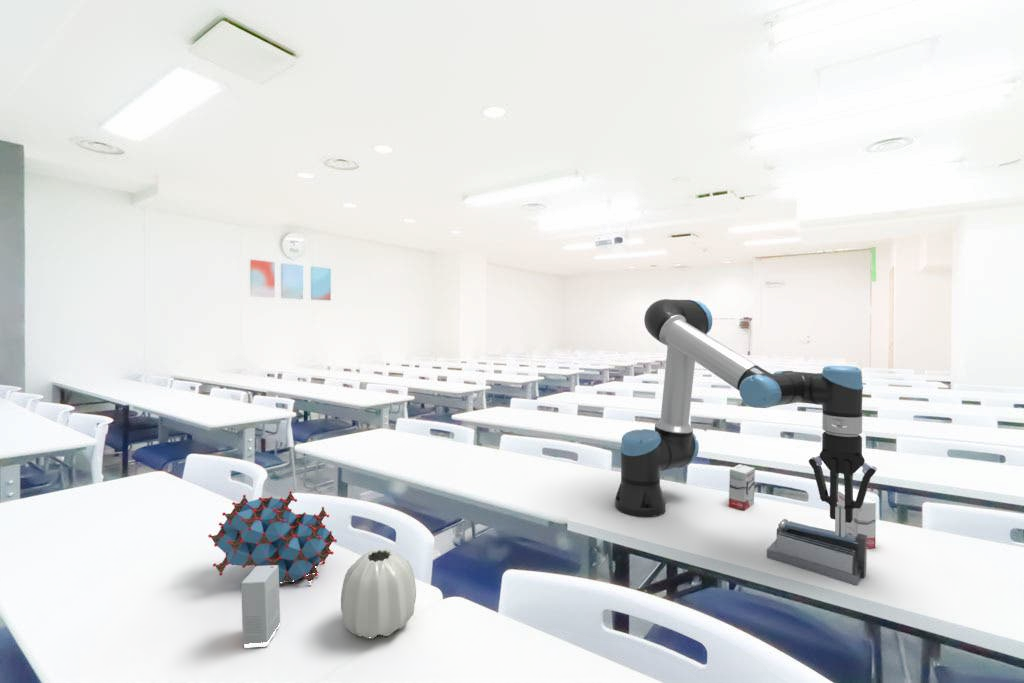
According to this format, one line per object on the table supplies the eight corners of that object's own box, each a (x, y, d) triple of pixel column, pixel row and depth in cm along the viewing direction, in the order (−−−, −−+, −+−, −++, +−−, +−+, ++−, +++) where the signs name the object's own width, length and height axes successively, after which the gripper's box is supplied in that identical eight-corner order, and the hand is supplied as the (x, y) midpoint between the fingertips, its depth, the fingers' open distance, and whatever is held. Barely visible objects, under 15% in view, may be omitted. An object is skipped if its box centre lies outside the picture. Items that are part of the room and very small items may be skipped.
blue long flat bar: (778, 528, 117) (778, 522, 117) (782, 523, 120) (782, 518, 120) (853, 544, 106) (852, 538, 106) (855, 539, 109) (855, 533, 109)
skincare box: (257, 627, 89) (256, 565, 88) (280, 626, 89) (279, 564, 89) (241, 649, 83) (240, 582, 82) (266, 648, 83) (265, 581, 83)
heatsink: (766, 557, 115) (767, 521, 115) (780, 541, 124) (781, 508, 124) (860, 586, 102) (861, 546, 102) (869, 566, 111) (870, 529, 111)
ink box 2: (876, 548, 120) (877, 502, 119) (856, 548, 120) (857, 502, 120) (854, 533, 128) (855, 490, 128) (835, 533, 129) (836, 490, 128)
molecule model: (348, 518, 118) (253, 472, 112) (341, 543, 104) (233, 492, 99) (312, 577, 116) (214, 533, 111) (300, 611, 102) (188, 563, 97)
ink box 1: (744, 511, 144) (745, 472, 143) (728, 506, 147) (728, 469, 147) (754, 503, 150) (755, 466, 149) (738, 499, 153) (739, 463, 153)
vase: (344, 658, 81) (343, 581, 80) (339, 612, 93) (338, 546, 93) (424, 636, 86) (423, 564, 86) (409, 596, 99) (408, 533, 98)
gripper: (804, 431, 111) (803, 531, 111) (875, 440, 102) (874, 549, 102) (812, 426, 116) (811, 521, 117) (880, 434, 107) (879, 537, 108)
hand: (841, 534), depth 109 cm, fingers closed
